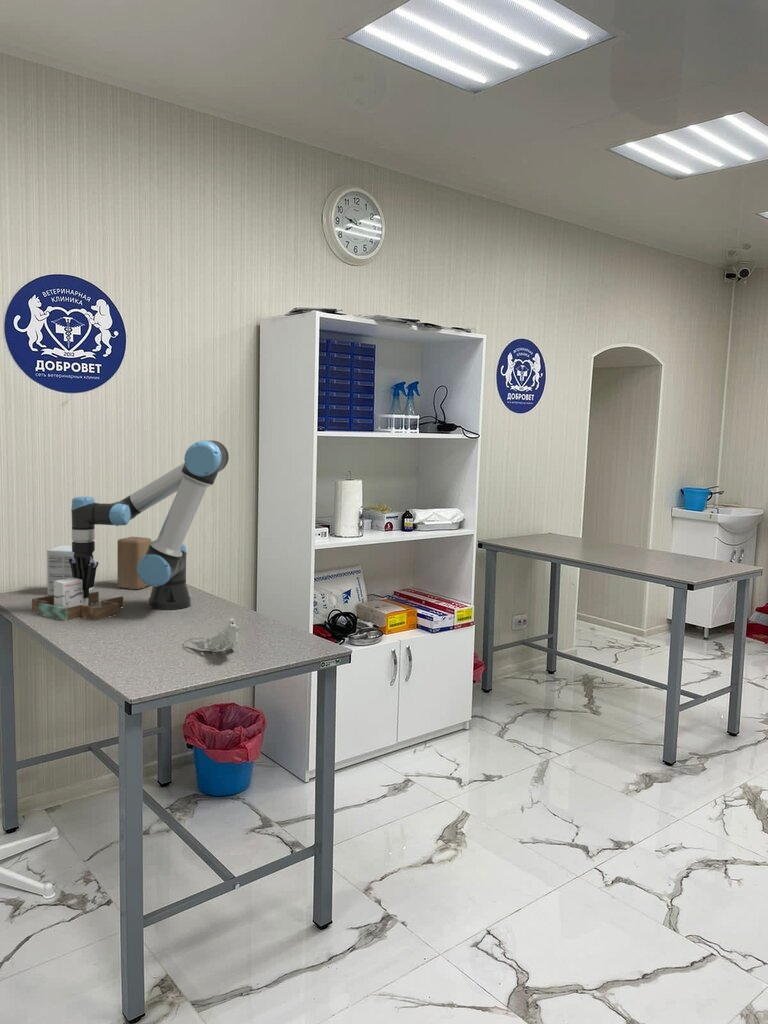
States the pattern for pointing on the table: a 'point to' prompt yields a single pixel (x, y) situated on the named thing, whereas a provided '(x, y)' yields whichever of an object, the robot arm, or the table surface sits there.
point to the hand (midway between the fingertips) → (83, 606)
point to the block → (131, 561)
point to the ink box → (68, 592)
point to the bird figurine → (220, 639)
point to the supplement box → (58, 565)
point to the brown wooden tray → (78, 608)
